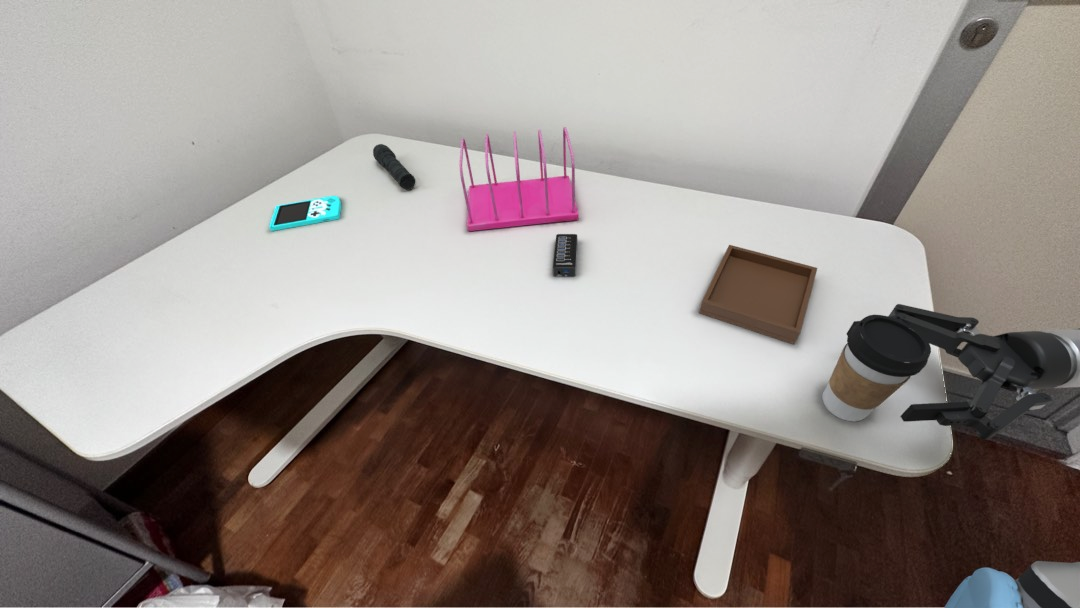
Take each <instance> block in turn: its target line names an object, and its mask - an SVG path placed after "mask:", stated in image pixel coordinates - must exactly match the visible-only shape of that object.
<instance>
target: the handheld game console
mask: <svg viewBox="0 0 1080 608" xmlns="http://www.w3.org/2000/svg"><path fill="white" fill-rule="evenodd" d="M341 211H342V201H341V199H340V197H338V196H337V195H329V196H322V197H318V198H312V199H305V200H301V201H293V202H289V203H284V204H279V205H277V204H276V205H275V207H274V210H273V213H272V215H271V220H270V223H269V226H268V228H269V230H270V231H271V232H276V231H280V230H286V229H291V228H297V227H302V226H308V225H313V224H320V223H324V222H330V221H335V220H340V218H341Z"/></svg>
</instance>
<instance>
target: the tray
mask: <svg viewBox="0 0 1080 608" xmlns="http://www.w3.org/2000/svg"><path fill="white" fill-rule="evenodd" d="M817 271H818V267H816V266H812V265H809V264H805V263H801V262H798V261H797V262H796V261H793V260H789V259H785V258H781V257H778V256H774V255H770V254H767V253H763V252H759V251H756V250H751V249H747V248H744V247H739V246H736V245H732V244H728V246H727V248H726V250H725V253H724V254H723V256H722V258H721V260H720V263H719V265H718V267H717V269H716V271H715V273H714V275H713V278H712V280H711V281H710V283H709V285H708V288H707V289H706V291H705V294H704V296H703V297H702V300H701V303H700V305H699V311H698V314H700V315H704V316H706V317H709V318H712V319H715V320H718V321H721V322H725V323H727V324H730V325H733V326H736V327H739V328H743V329H745V330H748V331H752V332H754V333H757V334H760V335H762V336H763V335H764V336H766V337H770V338H773V339H776V340H778V341H782V342H784V343H787V344H791V345H795V344H796V342H797V340H798V338H799V336H800V334H801V333H802V332H801V331H802V328H803V325H804V321H805V316H806V313H807V309H808V306H809V302H810V298H811V295H812V290H813V286H814V282H815V279H816V276H817Z"/></svg>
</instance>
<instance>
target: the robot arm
mask: <svg viewBox="0 0 1080 608" xmlns="http://www.w3.org/2000/svg"><path fill="white" fill-rule="evenodd" d="M887 316H888V317H892V318H894V319H897V320H900V321H902V322H904V323H906V324H908V325H910V326H912V327H913V328H915V329H916V330H918V331H919V332H920V333H921V334H922V335H923V336H924V337H925V338H926V339H927V341H928V342H929V344H930V345H932V346H935V347H937V348H940V349H942V350H944V351H945V353H946V354H948V355H950V356H953V357H955V358H957V359H958V360H959V362H960V363H961V364H962V365H963V366H965V368H966V369H967V371H968V372H969V373H970V375H971V376H972V377H973V378H976V379H978V380H980V381H981V382H980V384H979V386H978V388H977V390H976V393H975V395H974V396H973V398H972V400H971V401H970V403H969V402H968V401H950V402H934V403H933V402H931V403H929V402H928V403H913V404H912V403H911V404H910V405H909V406H908V407H907V408H906V409H905V410H904V411H903V412H902V414H901V415H900V416H899V417H900V419H901V420H902V422H903V423H904V422H905V423H907V422H922V421H923V422H925V421H936V422H937V423H938V425H940V426H943V427H949V426H951V427H952V426H967V427H970V428H972V429H974V430H975V431H976V435H977V436H978V438H980V439H982V440H984V441H988V440H990V439H991V438H993V437H994V436H995V435H997V434H998V433H1000V432H1001V431H1002V430H1003V429H1005V428H1006V427H1008V426H1009V425H1011V424H1012V423H1013V422H1015V421H1016V420H1018V418H1020V417H1021V416H1022V415H1026V414H1031V413H1037V412H1038V411H1039V410H1041V409H1043V408H1044V407H1045V406H1046V405H1047V404H1049V403H1051V402H1052V397H1051V396H1050V395H1049V394H1047V393H1045V392H1036V391H1035V390H1049V389H1067V388H1080V328H1064V329H1062V328H1061V329H1042V330H1029V331H1011V332H1010V331H1009V332H1005V333H1001V334H997V335H990V334H989V335H988V334H984V333H981V331H979V329H978V328H977V326H978V324H979V323H980V322H979V321H980V320H978V319H977V318H975V317H973V316H972V317H969V316H968V317H967V316H955V315H950V314H946V313H941V312H937V311H932V310H929V309H924V308H919V307H915V306H910V305H905V304H901V303H897V304H895V306H894V307H893V308H892V310H891V312H890V313H889V315H887ZM860 321H861V320H855V321H853V322H852V323H851V326H850V327H849V329H848V330H847V332H846V334H845V335H846V336H847V337H848V335H849V333H850V331H851V329H852V328H853V327H854V326H856V325H857V324H858V323H859V322H860ZM962 343H966V344H965V345H964V346H963V347H962V348H961V349H960V348H958V347H960V345H962ZM1001 389H1004V390H1007V391H1009V392H1013V393H1014V392H1015V393H1017V395H1016V396H1015V400H1016V401H1015V402H1014V403H1012V404H1011V405H1010V406H1009V407H1007V408H1006V409H1005V410H1003V411H1002V412H1000V413H999V414H998V415H996V416H995V417H994V418H992V419H990V418H988V416H987V414H989V413H990V410H989V409H990V408H991V406H992V404H993V403H994V400H995V398H996V397H997V395H998V393H999V391H1000V390H1001ZM944 608H1080V561H1076V562H1060V561H1047V560H1046V561H1043V560H1036V561H1035V562H1033V563H1032V564H1031V565H1029V567H1027V568H1026V569H1025V571H1024V572H1023V573H1022V574H1021V575H1020V576H1019V577H1018V578H1016V579H1014V577H1012V576H1011V575H1010V574H1008V573H1007V572H1004V571H998V570H997V569H994V568H992V567H980V568H977V569H975V570H974V572H973V573H972V575H969V576H967V577H966V578H964V579H963V580H962V581H961V582H960V583H959V585H958V586H957V588H956V589H955V591H953V593H952V595H950V598H949V599H948V601H947V603H946V604H945V606H944Z"/></svg>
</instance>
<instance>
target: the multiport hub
mask: <svg viewBox="0 0 1080 608" xmlns="http://www.w3.org/2000/svg"><path fill="white" fill-rule="evenodd" d="M554 243H555V244H554V251H553V252H554V253H553V262H552V276H553V277H555V278H556V277H557V278H566V277H567V278H574V277H576V276H577V262H578V261H577V257H578V234H577V233H557V234H555V242H554Z"/></svg>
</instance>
